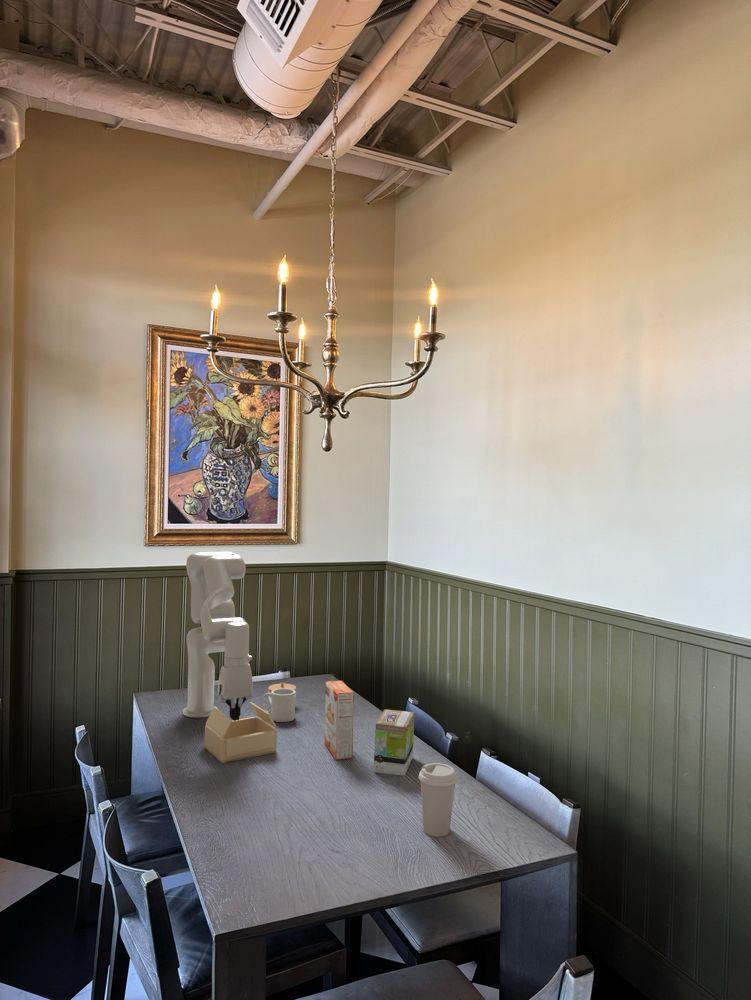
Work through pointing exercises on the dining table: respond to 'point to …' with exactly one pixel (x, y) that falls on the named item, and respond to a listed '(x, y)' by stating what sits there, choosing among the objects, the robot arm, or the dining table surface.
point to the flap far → (263, 714)
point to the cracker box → (339, 719)
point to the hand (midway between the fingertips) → (234, 719)
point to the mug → (281, 704)
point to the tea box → (394, 742)
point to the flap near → (218, 722)
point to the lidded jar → (282, 685)
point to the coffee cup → (437, 797)
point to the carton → (242, 740)
